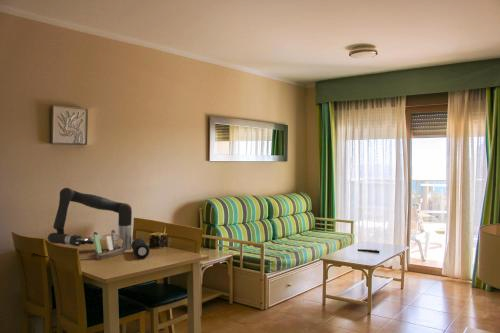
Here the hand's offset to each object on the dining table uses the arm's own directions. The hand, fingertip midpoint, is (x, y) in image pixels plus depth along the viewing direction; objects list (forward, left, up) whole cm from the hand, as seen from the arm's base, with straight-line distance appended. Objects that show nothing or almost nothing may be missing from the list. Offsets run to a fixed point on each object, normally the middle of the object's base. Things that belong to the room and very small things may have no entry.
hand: (92, 242), depth 284 cm
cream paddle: (-12, -4, -7) cm, 14 cm away
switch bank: (-10, -2, -10) cm, 14 cm away
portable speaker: (-31, +2, -10) cm, 33 cm away
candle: (-48, -24, -10) cm, 55 cm away
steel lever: (-16, -8, -7) cm, 19 cm away
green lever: (-4, +4, -7) cm, 9 cm away
